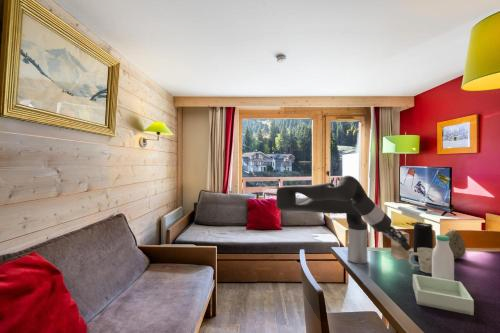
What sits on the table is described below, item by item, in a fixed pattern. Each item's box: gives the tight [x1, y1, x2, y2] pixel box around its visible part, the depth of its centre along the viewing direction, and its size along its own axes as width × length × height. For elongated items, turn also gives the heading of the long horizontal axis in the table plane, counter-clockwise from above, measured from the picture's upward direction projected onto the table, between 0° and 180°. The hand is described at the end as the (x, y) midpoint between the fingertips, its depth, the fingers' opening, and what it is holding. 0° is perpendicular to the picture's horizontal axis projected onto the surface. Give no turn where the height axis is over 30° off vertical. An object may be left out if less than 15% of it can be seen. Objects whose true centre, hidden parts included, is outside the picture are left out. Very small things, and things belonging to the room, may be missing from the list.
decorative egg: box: [444, 230, 467, 260], centre depth 142 cm, size 11×11×15 cm
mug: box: [407, 247, 434, 274], centre depth 125 cm, size 8×13×10 cm, turn 78°
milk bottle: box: [431, 234, 455, 281], centre depth 113 cm, size 8×8×20 cm
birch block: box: [390, 230, 410, 260], centre depth 104 cm, size 4×4×10 cm
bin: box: [412, 273, 475, 316], centre depth 99 cm, size 16×16×5 cm
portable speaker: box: [412, 221, 434, 261], centre depth 139 cm, size 9×9×20 cm
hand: (404, 246), depth 104 cm, fingers closed on birch block, 4 cm apart
